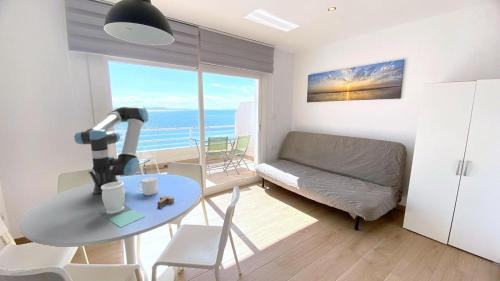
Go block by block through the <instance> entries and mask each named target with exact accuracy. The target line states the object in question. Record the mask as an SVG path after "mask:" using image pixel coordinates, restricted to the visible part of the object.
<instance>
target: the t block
mask: <svg viewBox="0 0 500 281" xmlns="http://www.w3.org/2000/svg"><path fill="white" fill-rule="evenodd" d="M174 202H175V198H174V197H173V196H167V195H166V196H165V195H162V196H159V200H158V201H157V202H156V203H157V208H162V207H165V206H166V205H167V204H171V203H172V204H173V203H174ZM165 204H166V205H165Z"/></svg>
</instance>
